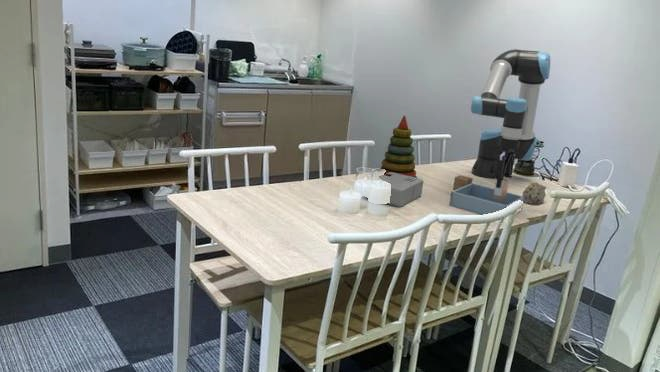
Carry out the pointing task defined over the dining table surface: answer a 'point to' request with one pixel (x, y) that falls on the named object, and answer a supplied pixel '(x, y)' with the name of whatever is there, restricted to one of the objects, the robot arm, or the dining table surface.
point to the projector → (403, 188)
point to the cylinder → (504, 191)
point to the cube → (461, 181)
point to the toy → (400, 152)
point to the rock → (534, 193)
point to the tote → (480, 199)
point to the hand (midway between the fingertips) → (500, 193)
